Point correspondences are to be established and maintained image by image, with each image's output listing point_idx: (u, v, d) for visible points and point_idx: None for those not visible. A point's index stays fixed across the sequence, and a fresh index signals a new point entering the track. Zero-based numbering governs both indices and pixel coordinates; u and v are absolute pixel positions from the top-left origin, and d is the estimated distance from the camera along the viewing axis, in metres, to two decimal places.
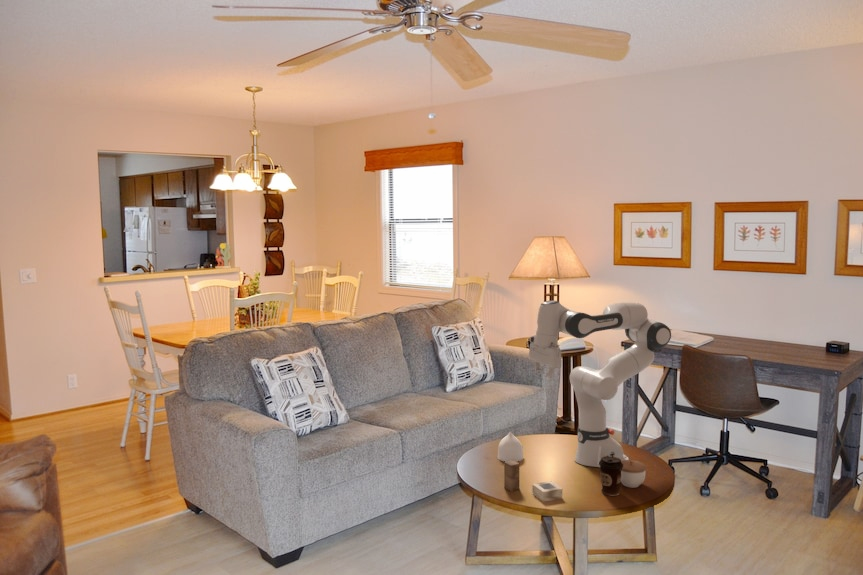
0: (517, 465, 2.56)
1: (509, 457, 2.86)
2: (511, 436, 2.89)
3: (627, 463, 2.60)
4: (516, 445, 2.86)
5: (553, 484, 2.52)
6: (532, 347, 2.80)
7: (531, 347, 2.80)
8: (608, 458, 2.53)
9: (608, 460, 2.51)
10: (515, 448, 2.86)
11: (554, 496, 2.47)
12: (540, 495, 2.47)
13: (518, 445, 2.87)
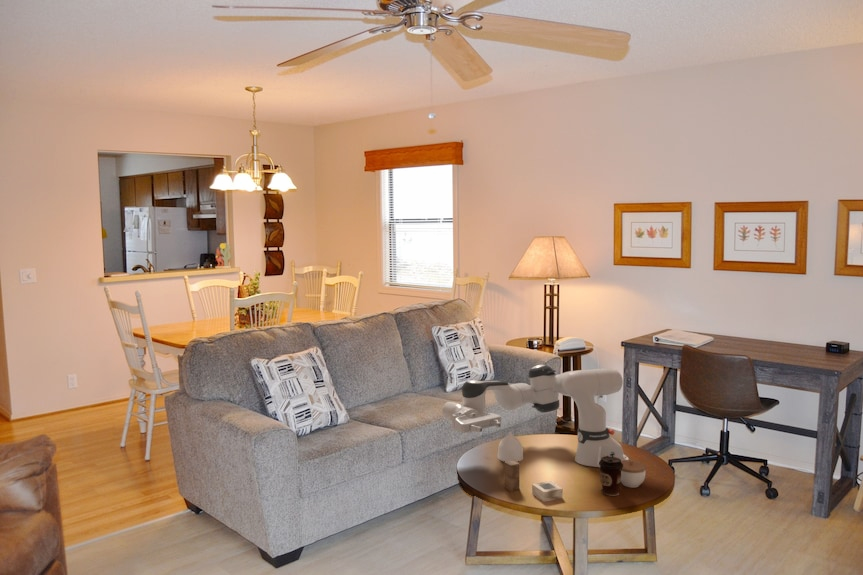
0: (517, 465, 2.56)
1: (509, 457, 2.86)
2: (511, 436, 2.89)
3: (627, 463, 2.60)
4: (516, 445, 2.86)
5: (553, 484, 2.52)
6: (460, 420, 2.71)
7: (459, 419, 2.70)
8: (608, 458, 2.53)
9: (608, 460, 2.51)
10: (515, 448, 2.86)
11: (554, 496, 2.47)
12: (541, 496, 2.47)
13: (518, 445, 2.87)
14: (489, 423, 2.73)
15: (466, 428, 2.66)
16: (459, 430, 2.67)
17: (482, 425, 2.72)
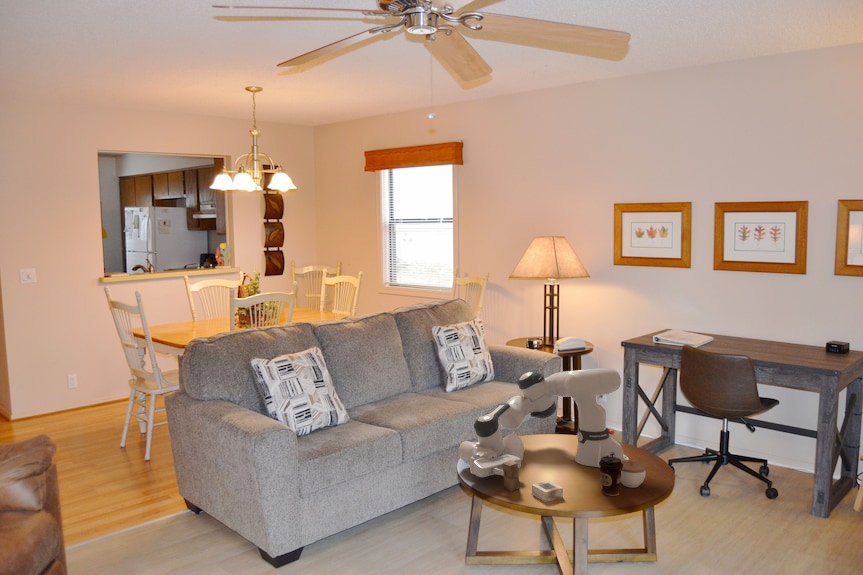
0: (515, 465, 2.56)
1: None
2: (515, 436, 2.87)
3: (628, 463, 2.60)
4: (519, 445, 2.85)
5: (552, 484, 2.52)
6: (478, 463, 2.61)
7: (477, 462, 2.61)
8: (608, 458, 2.53)
9: (608, 460, 2.51)
10: (518, 449, 2.85)
11: (555, 495, 2.47)
12: (542, 496, 2.47)
13: (521, 445, 2.86)
14: None
15: (485, 472, 2.57)
16: (478, 474, 2.58)
17: (502, 469, 2.62)
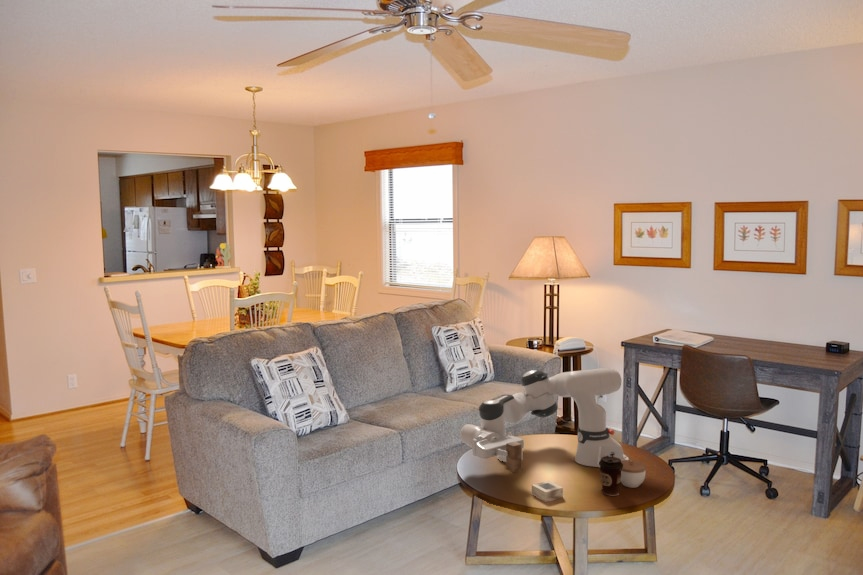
0: (519, 446, 2.54)
1: None
2: None
3: (627, 463, 2.60)
4: None
5: (552, 484, 2.52)
6: (481, 444, 2.59)
7: (480, 444, 2.59)
8: (608, 458, 2.53)
9: (608, 460, 2.51)
10: None
11: (555, 495, 2.47)
12: (543, 496, 2.46)
13: None
14: None
15: (489, 453, 2.55)
16: (481, 455, 2.56)
17: (505, 450, 2.60)
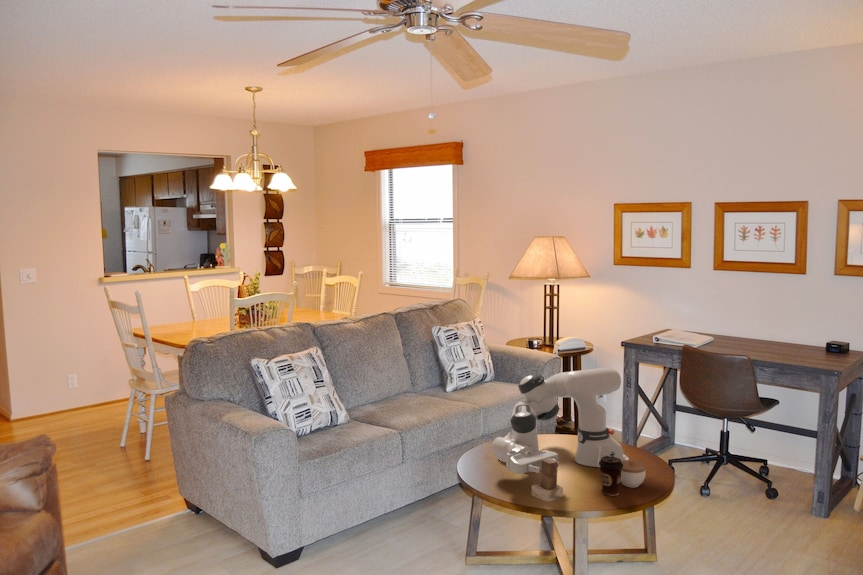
0: (555, 463, 2.47)
1: None
2: (511, 436, 2.88)
3: (627, 463, 2.60)
4: None
5: None
6: (515, 459, 2.53)
7: (514, 459, 2.52)
8: (608, 458, 2.53)
9: (608, 460, 2.51)
10: None
11: (555, 495, 2.48)
12: (543, 496, 2.46)
13: None
14: None
15: (523, 468, 2.48)
16: (515, 471, 2.49)
17: (539, 465, 2.54)
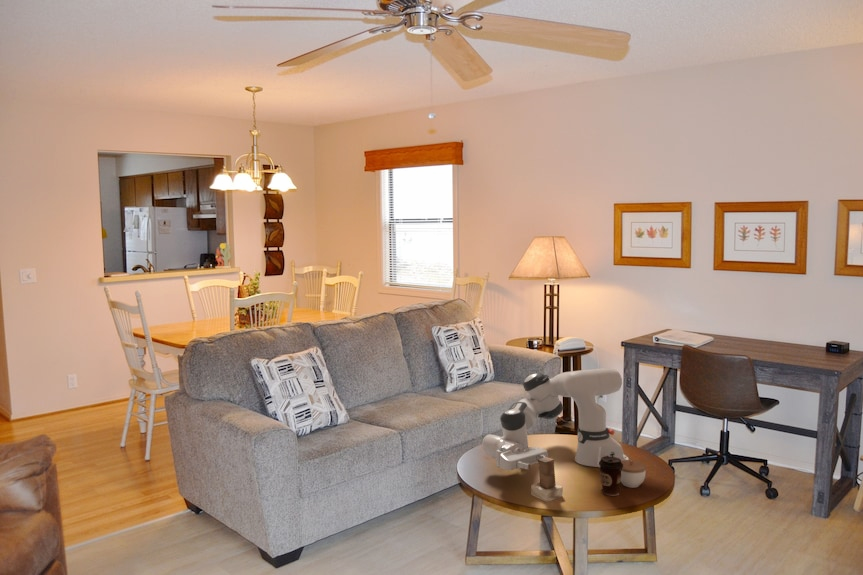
0: (551, 461, 2.48)
1: None
2: None
3: (627, 463, 2.60)
4: None
5: None
6: (505, 456, 2.56)
7: (504, 455, 2.56)
8: (608, 458, 2.53)
9: (608, 460, 2.51)
10: None
11: (555, 495, 2.48)
12: (543, 496, 2.46)
13: None
14: (535, 459, 2.60)
15: (513, 465, 2.52)
16: (505, 467, 2.53)
17: (529, 461, 2.58)
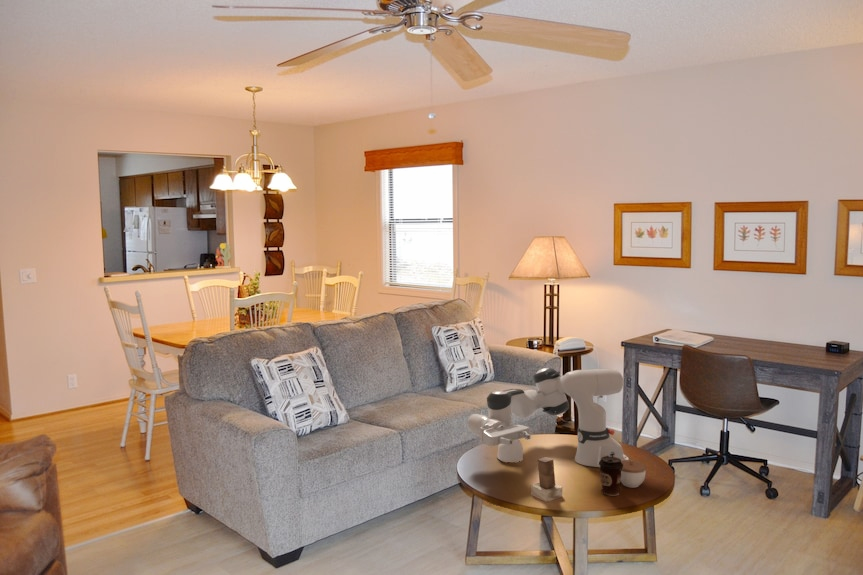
0: (551, 461, 2.48)
1: (511, 457, 2.85)
2: None
3: (627, 463, 2.60)
4: (518, 445, 2.86)
5: None
6: (488, 432, 2.64)
7: (487, 432, 2.64)
8: (608, 458, 2.53)
9: (608, 460, 2.51)
10: (517, 449, 2.85)
11: (555, 495, 2.48)
12: (543, 496, 2.47)
13: (519, 445, 2.87)
14: (518, 435, 2.67)
15: (495, 440, 2.60)
16: (488, 443, 2.61)
17: (511, 437, 2.65)
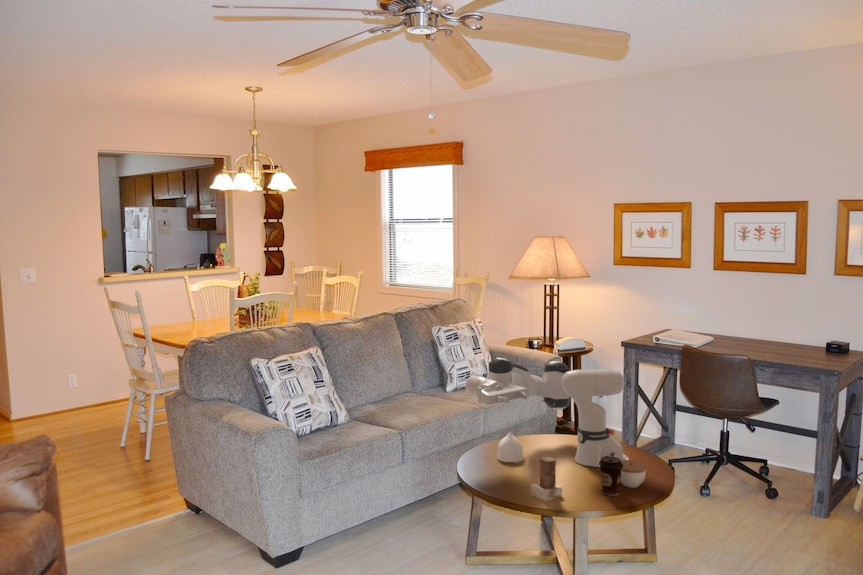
0: (553, 462, 2.49)
1: (510, 457, 2.85)
2: (511, 436, 2.88)
3: (627, 463, 2.60)
4: (516, 445, 2.86)
5: None
6: (485, 391, 2.68)
7: (485, 391, 2.68)
8: (608, 458, 2.53)
9: (608, 460, 2.51)
10: (516, 448, 2.85)
11: (554, 495, 2.48)
12: (542, 495, 2.47)
13: (518, 445, 2.87)
14: (515, 395, 2.71)
15: (493, 399, 2.64)
16: (485, 402, 2.65)
17: (508, 397, 2.69)
